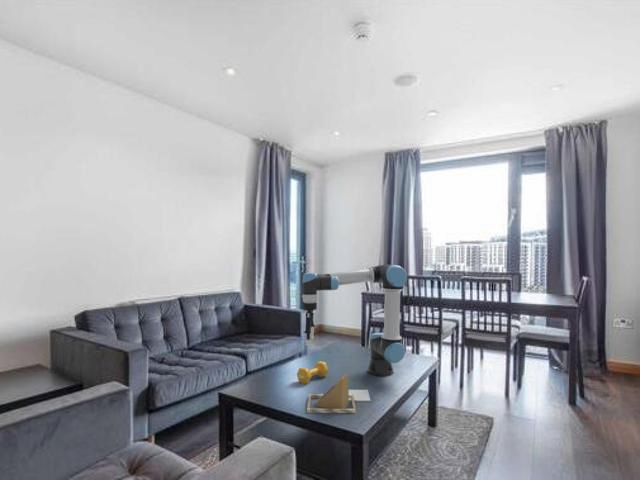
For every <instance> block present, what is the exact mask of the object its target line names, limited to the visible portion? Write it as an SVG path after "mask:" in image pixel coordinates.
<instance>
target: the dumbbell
mask: <svg viewBox="0 0 640 480" xmlns="http://www.w3.org/2000/svg"><path fill="white" fill-rule="evenodd" d="M328 373H329V368H328V364H327V363H326V362H325V361H321V360H320V361H317V362H316V363H315V365H314V368H311V369H309V368H307V367H304V366H303V367H300V368H299V369H298V370H297V372H296V376H297V380H298V382H299V383H301V384H304V385H306V384H309V382H310V381H311V379H312V377H313V376H317V377H321V378H325V377H326V376H327V374H328Z"/></svg>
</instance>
